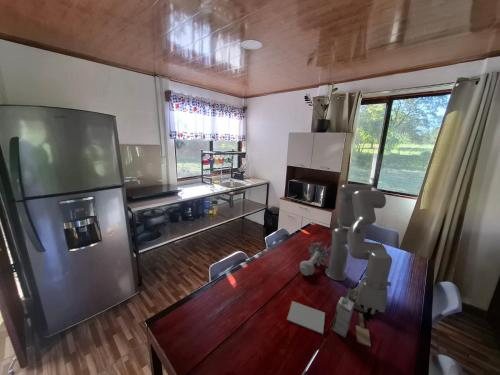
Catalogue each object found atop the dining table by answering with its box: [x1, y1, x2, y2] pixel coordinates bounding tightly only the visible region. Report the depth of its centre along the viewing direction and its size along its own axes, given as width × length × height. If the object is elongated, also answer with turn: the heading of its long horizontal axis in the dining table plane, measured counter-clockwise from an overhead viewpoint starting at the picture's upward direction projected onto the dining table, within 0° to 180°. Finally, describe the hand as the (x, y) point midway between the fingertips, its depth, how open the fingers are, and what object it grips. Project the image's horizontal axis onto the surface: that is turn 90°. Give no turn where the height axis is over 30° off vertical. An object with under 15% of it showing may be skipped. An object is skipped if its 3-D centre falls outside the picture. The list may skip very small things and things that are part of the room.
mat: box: [286, 300, 326, 335], centre depth 96 cm, size 12×16×1 cm
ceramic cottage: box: [345, 284, 378, 315], centre depth 107 cm, size 16×16×15 cm
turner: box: [355, 312, 372, 348], centre depth 92 cm, size 16×5×1 cm, turn 156°
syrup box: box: [331, 296, 355, 338], centre depth 89 cm, size 6×6×14 cm
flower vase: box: [299, 241, 329, 277], centre depth 133 cm, size 13×18×25 cm
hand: (366, 318), depth 85 cm, fingers closed
